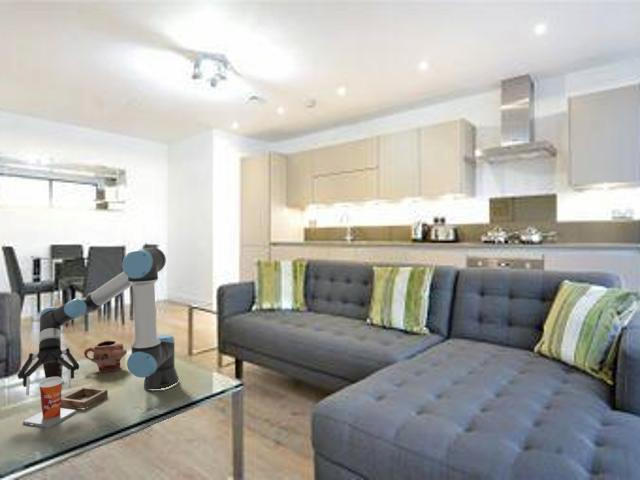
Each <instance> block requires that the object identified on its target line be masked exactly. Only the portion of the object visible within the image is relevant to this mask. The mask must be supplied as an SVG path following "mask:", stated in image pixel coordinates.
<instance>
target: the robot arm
mask: <svg viewBox="0 0 640 480" xmlns="http://www.w3.org/2000/svg"><path fill="white" fill-rule="evenodd" d="M166 262H167V258H166V255H165V253H164V252H163V251H162V250H161V249H160V248H157V247H147V248H145V247H144V248H138V249H134V250H131V251H130V252H128V253H127V254H126V255H125V256H124V258H123V260H122V265H121V268H122V270H123V271H122V272H121V273H119V274H117V275H116V276H114V277H113V278H111V279H110V280H109V281H107V282H105V283H104V284H103V285H101V286H100V287H98V288H97V289H95V290H94V291H92V292H91V293H89V294H88V295H86V296H85V297H83V298H74V299H72V300H68V301H67V302H66V303H64V304H63V305H60V306H59V307H56V306H49V307H45V308H44V309H42V310H41V312H40V314H39V315H40V317H39V333H38V334H39V336H38V337H39V339H38V340H39V341H38V343H39V344H38V353H34V354H33V353H32V352H31V353H29V355H28V357H27V358H28V359H27V360H26V362H25V363H24V364H23V367H21V369H20V370H19V372H18V373H17V378H18V379H19V380H22V386H23V388H26V389H25V390H26V391H25V393H26V394H25V395H26V396H30V385H31V384H30V382H31V378H30V377H31V376H32V375H33V373H35V371H37V369H39V367H41V366H42V365H43V363H45V364H47V363H54V362H55V361H57V362H58V363H60V364H62V365H63V367H64V368H66V369H67V370H68V388H69V389H70V388H72V380H73V379H74V378H75V371H77V370H79V369H80V364H79V363H78V362H77V360H76V358H74V356H73V354H72V353H71V351H70V348H66V349H64V350H62V346H61V345H62V341H61V339H62V338H61V337H62V330H61V329H62V326H64V325H66V324H67V323H69V322H71V321H73V320H75V319H77V318H80V317H83V316H85V315H88V314H91V313H94V312H96V311H98V310H100V309H101V307H102V306H104V305H105V304H107V303H109V302H110V301H111V300H113V299H115V297H117V296H119V295H120V294H122V293H123V292H124V291H126V290H128V289H129V288H131V287H132V302H133V323H134V326H133V327H134V341H133V342H132V343H131V345H130V346H131V354H130V355H129V357H128V358H127V362H126V367H127V369H128V371H129V373H131V374H132V375H133V376H135V377H137V378H144V381H143V388H144V390H146V389H161V388H166V387H169V386H171V385H173V384H175V383H177V382H178V380H179V376H178V372H177V369H176V367H175V337H174V336H173V335H170V334H169V335H168V334H158V335H157V316H156V315H157V314H156V291H155V283H156V282H157V281H158V280H159V275H158V274H159V272H160V271H162V270H163V268H165V266H166ZM61 355H63V356H66V358H67V359H68V361H69V362H70V363H69V362H68V361H67V360H66V359H63V358H62V357H61ZM36 358H37V361H36V362H35V363H34V364H33V365H32V366H31V364H32V363H33V361H34V360H35V359H36ZM30 366H31V367H30ZM29 367H30V368H29Z"/></svg>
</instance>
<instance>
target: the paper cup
mask: <svg viewBox="0 0 640 480" xmlns="http://www.w3.org/2000/svg"><path fill="white" fill-rule="evenodd" d="M63 381H64V380H63V378H62V377H49V378H45V377H44V378H43V379H41V380H40V382H39V384H38V387H39V391H40V403H41V404H40V405H41V412H42V413H43V418H45V419H50V418H54V417H57V416H58V415H60V410H61V408H62V406H61V398H62V388H63V384H62V383H63Z"/></svg>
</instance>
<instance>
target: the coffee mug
mask: <svg viewBox="0 0 640 480" xmlns="http://www.w3.org/2000/svg"><path fill="white" fill-rule="evenodd" d="M61 357H62V358H63V359H64V357H65V355H64V354H62V355H61ZM64 360H65V359H64ZM42 365H43V373H44V379H45V378H49V377H61V378H62V374H63V367H64V366H63V365H62V364H60V363H58V362H57V361H55V362H54V363H47V364H45V363H43V364H42Z"/></svg>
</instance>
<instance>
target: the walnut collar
mask: <svg viewBox="0 0 640 480" xmlns="http://www.w3.org/2000/svg"><path fill="white" fill-rule="evenodd" d="M83 396H90V397H89V398H87V399H85V400H80V398H81V397H83ZM78 398H79V399H78ZM105 398H108V389H104V388H95V387H89V386H88V387H87V386H82V387H81V388H79V389H76V390H75V391H73V392H70V393H69V394H66V395H64V396H61V408H68V409H75V410H78V409H77V408H87V407H88V408H90V407H92V406H93V405H95V404H97V403H99V402H100V401H103V400H104V399H105ZM88 408H87V409H88Z"/></svg>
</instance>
